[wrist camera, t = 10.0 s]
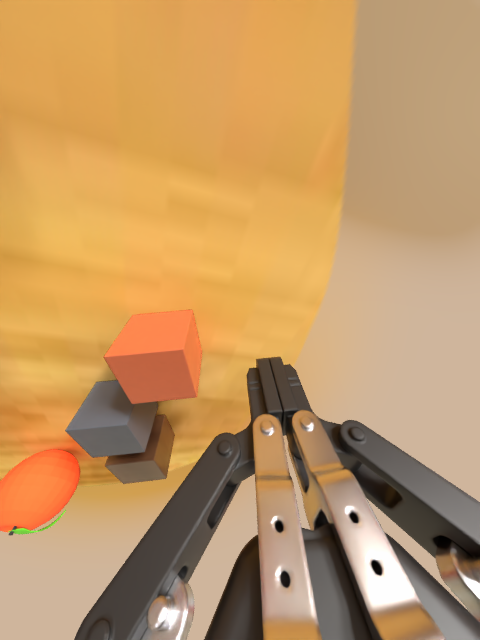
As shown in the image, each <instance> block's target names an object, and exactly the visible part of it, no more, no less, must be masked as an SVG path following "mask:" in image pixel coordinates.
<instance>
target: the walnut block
mask: <svg viewBox="0 0 480 640" xmlns="http://www.w3.org/2000/svg"><path fill="white" fill-rule="evenodd" d="M174 436H175V435H174V433H173V431H172V428H171V426H170V424H169V422H168V420H167V418H166V416H165V415H157V416H155V419H154V422H153V426H152V429H151V433H150V436H149V439H148V443H147V446H146V450H145V452H141V453H132V454H122V455H113V456H109V457H108V459H107V461H106V464H105V467H107V468H108V469H109V470H110V471H111V472H112V473H113V474H114V475H115V476H116V477H117V478H118V479H119V480H120V481H121V482H122V483H123V484H126V483H134V482H143V481H152V480H160V479H166V478H167V473H168V467H169V462H170V457H171V452H172V446H173V441H174Z"/></svg>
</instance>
